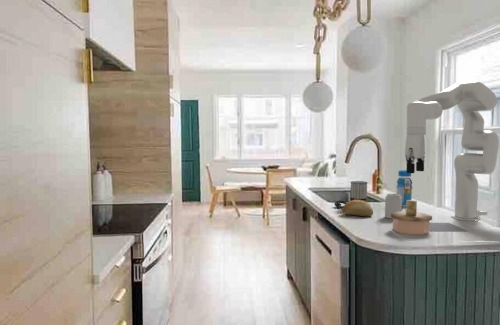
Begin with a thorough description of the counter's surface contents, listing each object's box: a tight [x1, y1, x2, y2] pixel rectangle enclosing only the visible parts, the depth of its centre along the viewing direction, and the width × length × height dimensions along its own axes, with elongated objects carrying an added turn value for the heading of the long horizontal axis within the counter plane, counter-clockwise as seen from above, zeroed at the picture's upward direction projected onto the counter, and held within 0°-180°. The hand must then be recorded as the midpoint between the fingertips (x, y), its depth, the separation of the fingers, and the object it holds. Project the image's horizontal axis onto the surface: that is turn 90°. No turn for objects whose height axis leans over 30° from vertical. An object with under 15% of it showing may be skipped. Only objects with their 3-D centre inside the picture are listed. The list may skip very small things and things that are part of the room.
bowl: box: [392, 218, 430, 235], centre depth 174 cm, size 13×13×6 cm
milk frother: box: [334, 180, 368, 209], centre depth 229 cm, size 14×16×15 cm
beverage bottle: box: [396, 169, 413, 208], centre depth 238 cm, size 8×8×20 cm
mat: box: [429, 222, 469, 233], centre depth 182 cm, size 16×17×1 cm
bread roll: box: [341, 199, 374, 218], centre depth 209 cm, size 10×15×8 cm, turn 75°
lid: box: [391, 199, 433, 222], centre depth 174 cm, size 16×16×7 cm
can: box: [384, 192, 403, 220], centre depth 201 cm, size 8×8×12 cm
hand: (415, 172), depth 178 cm, fingers open, 9 cm apart
